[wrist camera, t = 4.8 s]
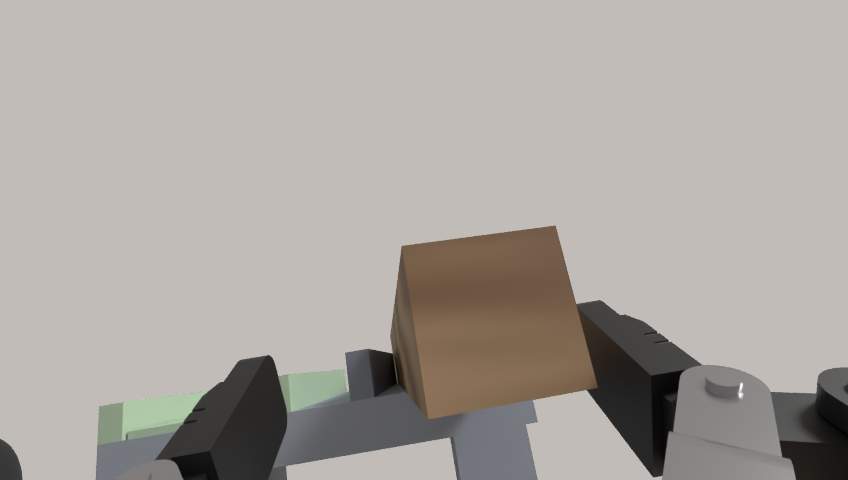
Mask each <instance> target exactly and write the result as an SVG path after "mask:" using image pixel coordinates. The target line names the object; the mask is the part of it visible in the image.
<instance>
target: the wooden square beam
mask: <svg viewBox="0 0 848 480" xmlns="http://www.w3.org/2000/svg"><path fill="white" fill-rule="evenodd" d="M390 337H391V344H392V351H393V356H394V364H395V371H396V378H397V383H398V384H399V385H400V386H401V387H402V389H403V390H404V391H405V392H406V393H407V395H408V396H409V397H410V398H411V399H412V400H413V402H414V403H415V404H416V405H417V406H418V408H419V409H420V410H421V411H422V412H423V413H424V415H425V416H426V417H427V418H428V419H433V418H439V417H444V416H449V415H455V414H460V413H465V412H471V411H476V410H481V409H487V408H492V407H497V406H503V405H508V404H513V403H519V402H524V401H530V400H535V399H540V398H546V397H551V396H556V395H562V394H567V393H572V392H578V391H583V390H588V389H594V388H598V386H597V382H596V378H595V374H594V371H593V367H592V363H591V359H590V355H589V352H588V348H587V344H586V340H585V336H584V332H583V329H582V325H581V321H580V317H579V313H578V310H577V306H576V302H575V298H574V294H573V290H572V287H571V283H570V279H569V275H568V271H567V268H566V264H565V260H564V256H563V252H562V248H561V245H560V241H559V238H558V234H557V229H556V226H549V227H542V228H534V229H527V230H520V231H512V232H504V233H497V234H490V235H482V236H474V237H467V238H459V239H452V240H444V241H437V242H430V243H422V244H414V245H407V246H402V249H401V258H400V265H399V272H398V280H397V289H396V297H395V304H394V313H393V320H392V328H391V335H390Z"/></svg>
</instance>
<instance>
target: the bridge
mask: <svg viewBox="0 0 848 480" xmlns="http://www.w3.org/2000/svg"><path fill="white" fill-rule="evenodd" d="M345 355H346V364H347V374H348V382H349V392H347V388H346V379H345V370H333V371H322V372H311V373H300V374H289V375H283V376H278V378H279V382H280V385H281V389H282V393H283V397H284V401H285V404H286V409H287V429H286V433H285V436H284V438H283V441H282V444H281V446H280V449H279V452H278V454H277V457H276V460H275V463H274V465H273V468H272V471H271V473H270V476H269V479H268V480H287V475H286V466H288V465H293V464H300V463H305V462H311V461H317V460H323V459H328V458H334V457H339V456H346V455H351V454H356V453H363V452H368V451H374V450H380V449H385V448H392V447H397V446H403V445H409V444H415V443H420V442H426V441H431V440H437V439H443V438H448V437H450V439H451V445H452V451H453V457H454V464H455V469H456V476H457V480H537V475H536V470H535V466H534V461H533V456H532V452H531V447H530V442H529V437H528V433H527V428H526V424H529V423H535V422H537V417H536V412H535V408H534V403H533V400H530V401H524V402H519V403H513V404H508V405H503V406H497V407H492V408H487V409H481V410H476V411H471V412H465V413H460V414H455V415H449V416H444V417H439V418H433V419H428V418H427V417H426V416H425V415H424V413H423V412H422V411H421V410H420V409H419V408H418V406H417V405H416V404H415V403H414V402H413V400H412V399H411V398H410V397H409V396H408V395H407V393H406V392H405V391H404V390H403V389H402V387H401V386H400V385H399V384H398V383H397V378H396V371H395V364H394V356H393V354H392V353H386V352H381V351H376V350H371V349H365V350H359V351H353V352H347V353H345ZM207 392H208V391H206V392H198V393H190V394H183V395H175V396H168V397H160V398H153V399H145V400H138V401H131V402H123V403H117V404H111V405H105V406H100V407H99V423H98V424H99V425H98V445H97V466H96V480H114V479H115V478H117V477H118V476H120V475H121V474H123V473H125V472H126V471H128V470H130V469H132V468H134V467H136V466H139V465H141V464H144V463H147V462H150V461H154V460H155V459H156V458H157V456H158V455H159V454H160V452H161V451H162V450H163V448H164V447H165V446H166V444H167V443H168V442H169V440H170V439H171V438H172V436H173V435H174V434H175V432H176V431H177V430H178V428H179V427H180V426H181V425H183V422H184V420H185V419H186V418H187V416H188V415H189V414H190V413H192V409H193V408H194V407H195V405H196V404H197V403H198V401H199V400H200V399H201V397H202V396H203V395H204V394H206V393H207Z"/></svg>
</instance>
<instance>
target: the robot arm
mask: <svg viewBox="0 0 848 480" xmlns="http://www.w3.org/2000/svg"><path fill="white" fill-rule="evenodd" d="M576 306H577V310H578V313H579V317H580V321H581V325H582V329H583V332H584V336H585V340H586V344H587V348H588V352H589V355H590V359H591V363H592V367H593V371H594V374H595V378H596V382H597V386H598V388H594V389H588V390H587V391H588V392H589V394H590V395H591V396H592V398H593V399H594V400H595V401H596V403H597V404H598V405H599V407H600V408H601V409H602V411H603V412H604V413H605V415H606V416H607V417H608V419H609V420H610V421H611V423H612V424H613V425H614V426H615V428H616V429H617V430H618V432H619V433H620V434H621V436H622V437H623V438H624V440H625V441H626V442H627V443H628V445H629V446H630V448H631V449H632V450H633V451H634V453H635V454H636V455H637V457H638V458H639V459H640V461H641V462H642V463H643V465H644V466H645V467H646V468H647V470H648V471H649V472H650V474H651V475H652V476H653V477H658V476H663V477H662V480H848V368H833V369H828V370H825V371H823V372H822V373H820V374H819V376H818V382H817V394H811V393H781V392H770V390H769V388H768V387H767V386H766V385H765V384H764V383H763V382H762V381H761V380H759V379H757V378H756V377H754V376H752V375H750V374H748V373H746V372H743V371H740V370H737V369H733V368H729V367H724V366H715V365H701V364H700V363H699V362H698V361H696V360H695V359H694V358H692V357H691V356H689V355H688V354H687V353H685V352H684V351H683V350H681V349H680V348H679V347H677V346H676V345H675V344H673V343H672V342H669V341H668V339H666V338H665V337H664V336H662V335H661V334H660V333H659V334H658V333H657V331H655V330H654V329H653V328H652V327H650V326H649V325H648V324H646V323H645V322H643V321H641V320H638V319H635V318H632V317H630V316H627V315H619V314H617V313H616V312H615V311H614V310H612V309H611V308H610V307H609V306H607V305H606V304H605V303H604V302H602V301H600V300H598V301H592V302H586V303H580V304H576ZM286 429H287V409H286V404H285V401H284V397H283V393H282V389H281V385H280V382H279V378H278V374H277V370H276V366H275V363H274V360H273V358H272V357H271V356H269V355H267V356H261V357H255V358H249V359H243V360H240V361H239V362H237V364H236V365H235V367H234V368H233V370H232V371H231V372H230V374H229V375H228V377H227V378H226V379H225V381H224V382H220V383H219V384H218V385H216V386H215V387H213V388H212V389H211V390H210V391H208V392H207V393H206V394H204V395H203V396H202V397H201V399H200V400H199V401H198V403H197V404H196V405H195V407H194V408H193V409H192V413H190V414H189V415H188V416H187V418H186V419H185V420H184V422H183V425H181V426H180V427H179V428H178V430H177V431H176V432H175V434H174V435H173V436H172V438H171V439H170V440H169V442H168V443H167V444H166V446H165V447H164V448H163V450H162V451H161V452H160V454H159V455H158V456H157V458H156V459H155V460H154V461H150V462H147V463H144V464H141V465H139V466H136V467H134V468H132V469H130V470H128V471H126V472H125V473H123V474H121V475H120V476H118V477H117V478H115V479H114V480H268V479H269V476H270V473H271V471H272V468H273V465H274V463H275V460H276V457H277V454H278V452H279V449H280V446H281V444H282V441H283V438H284V436H285V433H286ZM0 480H22V471H21V466H20V463H19V460H18V457H17V455H16V453H15V452H14V450H13V449H12V447H11V446H10V445H9V444H7V443H6V442H5V441H3V440H1V439H0Z"/></svg>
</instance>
